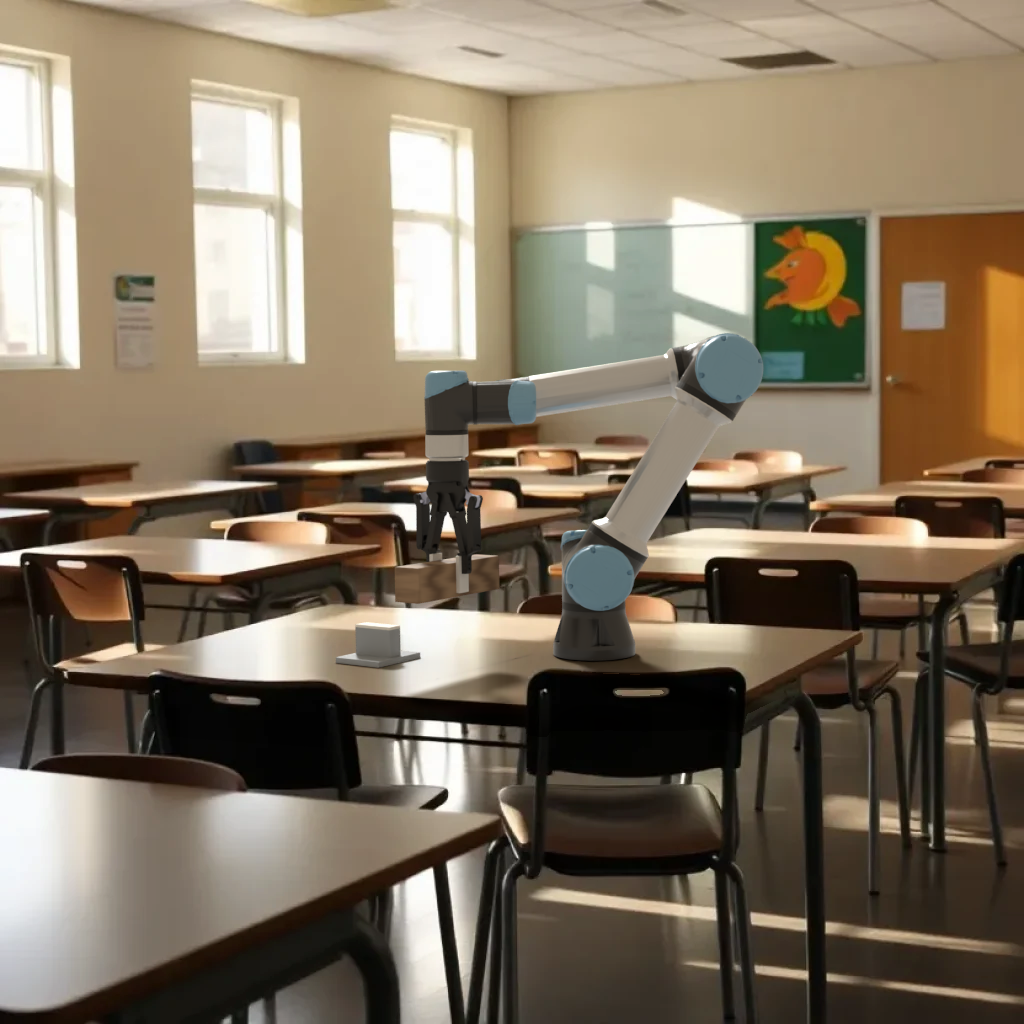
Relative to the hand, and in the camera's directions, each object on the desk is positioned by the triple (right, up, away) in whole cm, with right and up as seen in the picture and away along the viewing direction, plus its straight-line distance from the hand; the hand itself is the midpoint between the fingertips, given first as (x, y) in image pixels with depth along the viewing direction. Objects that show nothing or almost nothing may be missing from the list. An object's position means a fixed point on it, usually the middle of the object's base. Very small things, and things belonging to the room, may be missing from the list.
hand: (449, 591), depth 304 cm
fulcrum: (-13, -13, +11) cm, 21 cm away
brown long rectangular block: (0, -1, 0) cm, 1 cm away
